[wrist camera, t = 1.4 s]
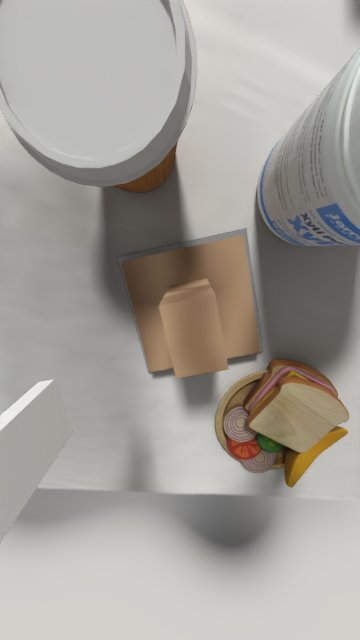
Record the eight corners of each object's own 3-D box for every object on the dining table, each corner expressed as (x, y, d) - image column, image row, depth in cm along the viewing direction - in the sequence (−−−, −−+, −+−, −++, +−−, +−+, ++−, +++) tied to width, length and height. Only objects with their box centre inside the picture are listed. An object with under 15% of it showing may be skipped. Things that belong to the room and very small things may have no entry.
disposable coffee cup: (215, 167, 22) (242, 82, 11) (128, 234, 24) (70, 223, 12) (149, 55, 20) (96, -195, 9) (59, 137, 22) (-84, 18, 11)
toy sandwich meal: (191, 422, 30) (191, 454, 25) (273, 334, 26) (290, 352, 22) (273, 478, 31) (288, 517, 27) (359, 401, 28) (392, 431, 24)
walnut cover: (151, 366, 27) (133, 425, 18) (123, 261, 24) (85, 270, 15) (257, 347, 26) (292, 399, 17) (241, 235, 23) (272, 228, 14)
